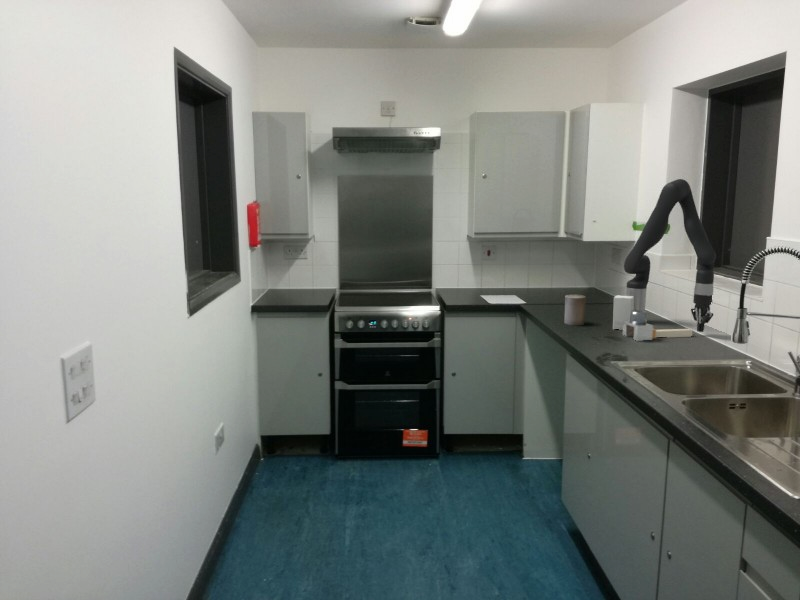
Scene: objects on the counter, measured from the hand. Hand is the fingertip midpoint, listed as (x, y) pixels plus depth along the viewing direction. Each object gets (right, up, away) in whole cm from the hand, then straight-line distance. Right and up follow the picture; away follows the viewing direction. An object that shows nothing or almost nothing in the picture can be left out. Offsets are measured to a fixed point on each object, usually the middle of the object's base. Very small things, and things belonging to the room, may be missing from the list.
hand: (700, 331), depth 267 cm
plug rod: (-16, -2, -2) cm, 16 cm away
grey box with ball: (-30, -3, -4) cm, 30 cm away
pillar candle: (-49, +2, +25) cm, 55 cm away
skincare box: (-30, 0, +13) cm, 33 cm away
